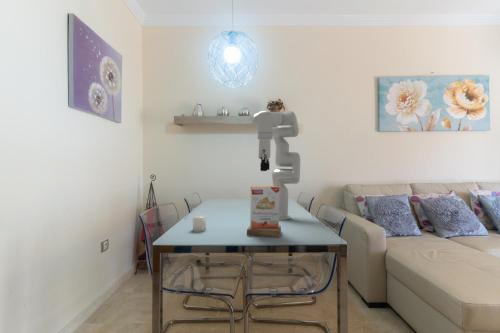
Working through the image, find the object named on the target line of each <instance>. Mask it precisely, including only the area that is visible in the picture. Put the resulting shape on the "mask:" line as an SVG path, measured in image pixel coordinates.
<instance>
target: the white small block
mask: <svg viewBox="0 0 500 333" xmlns="http://www.w3.org/2000/svg"><path fill="white" fill-rule="evenodd" d="M206 230H207V216H206V215H193V216H192V231H193V232H205V231H206Z"/></svg>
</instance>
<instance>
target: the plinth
mask: <svg viewBox="0 0 500 333" xmlns="http://www.w3.org/2000/svg"><path fill="white" fill-rule="evenodd" d="M281 233H282V226H281V225H279V228H251V226H250V225H249V226H248V228H247V229H246V236H247V235H249V236H248V237H262V236H263V238H264V237H266V238H268V237H269V238H280V236H281Z"/></svg>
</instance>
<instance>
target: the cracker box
mask: <svg viewBox="0 0 500 333" xmlns="http://www.w3.org/2000/svg"><path fill="white" fill-rule="evenodd" d="M249 220H250V222H249V223H250V224H249V226H251V228H279V226H280V225H279V187H277V186H273V185H272V186H271V185H251V186H250V218H249Z"/></svg>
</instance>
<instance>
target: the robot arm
mask: <svg viewBox="0 0 500 333" xmlns="http://www.w3.org/2000/svg"><path fill="white" fill-rule="evenodd" d="M252 124H253V126H254V128H257V140H258V159H259V160H260V163H259V164H260V171H261V172H267V171H270V158H271V140H273V141H274V142H275V155H274V156H275V158H274V159H275V160H274V161H275V162H274V163H275V166H277V167H279V168H276V169H273V170H272V173H271V177H272V179H271V180H272V186H277V187H279V220H280V221H284V220H285V221H286V220H290V219H291V215H289V189H288V187H287V186H286V185H296V184H297V185H298V184H299V182H300V178H301V156H300V153H299V152H297V151H296V152H295V151H290V144H289V142H288V141H287V139H286V138H296V137H298V135H299V133H300V131H299V130H300V129H299V123H298V119H297V115H296V113H295V112H294V111H273V112H272V111H267V110H266V111H265V110H263V111H259V112H258V113H255V114H254V115H253V117H252ZM280 167H282V168H280ZM283 167H284V168H283Z"/></svg>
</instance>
